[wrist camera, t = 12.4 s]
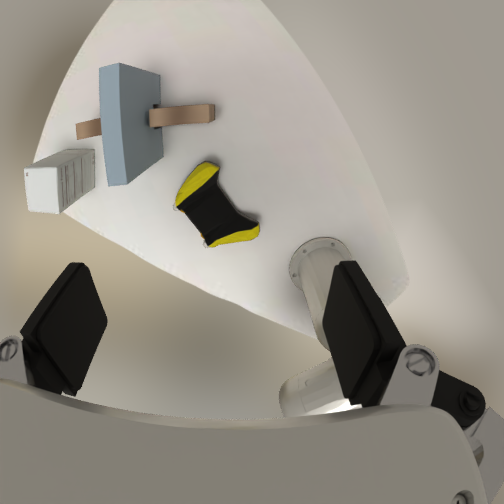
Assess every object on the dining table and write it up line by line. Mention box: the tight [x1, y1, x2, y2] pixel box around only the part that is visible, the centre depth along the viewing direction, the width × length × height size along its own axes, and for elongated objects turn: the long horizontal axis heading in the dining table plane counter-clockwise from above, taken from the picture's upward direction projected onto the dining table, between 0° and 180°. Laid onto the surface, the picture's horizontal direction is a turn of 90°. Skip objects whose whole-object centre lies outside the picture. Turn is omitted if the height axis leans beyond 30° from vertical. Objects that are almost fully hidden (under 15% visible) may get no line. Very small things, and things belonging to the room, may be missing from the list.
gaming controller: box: [173, 161, 260, 248], centre depth 44 cm, size 15×6×10 cm
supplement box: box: [24, 149, 95, 214], centre depth 35 cm, size 7×7×13 cm
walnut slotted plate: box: [76, 104, 215, 140], centre depth 34 cm, size 20×2×8 cm, turn 89°
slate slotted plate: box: [99, 63, 164, 186], centre depth 31 cm, size 14×2×16 cm, turn 0°
